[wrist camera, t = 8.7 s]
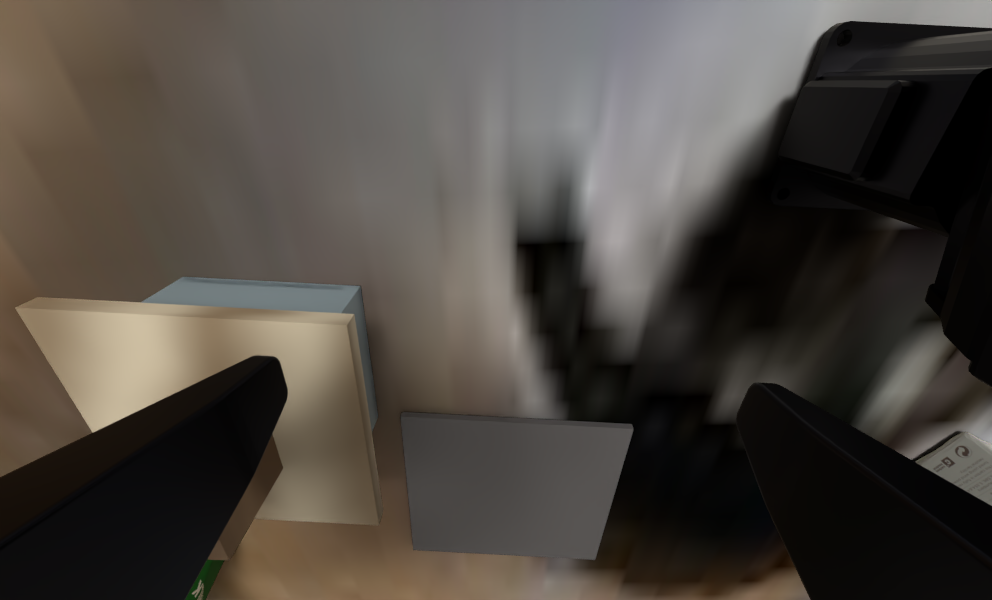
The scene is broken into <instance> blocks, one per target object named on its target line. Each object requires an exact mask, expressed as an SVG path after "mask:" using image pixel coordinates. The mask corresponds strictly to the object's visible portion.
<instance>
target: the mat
mask: <svg viewBox="0 0 992 600" xmlns="http://www.w3.org/2000/svg"><path fill="white" fill-rule="evenodd" d="M400 417H401V428H402V438H403V448H404V458H405V469H406V479H407V489H408V499H409V510H410V520H411V530H412V540H413V550H423V551H442V552H460V553H479V554H497V555H516V556H535V557H553V558H572V559H590V560H595V558H596V555H597V552H598V548H599V545H600V541H601V538H602V535H603V531H604V528H605V524H606V521H607V518H608V514H609V511H610V507H611V504H612V501H613V497H614V494H615V490H616V487H617V484H618V480H619V477H620V473H621V470H622V467H623V463H624V460H625V456H626V453H627V450H628V446H629V443H630V440H631V436H632V433H633V426H632V424H622V423H604V422H585V421H566V420H547V419H528V418H509V417H490V416H471V415H452V414H433V413H414V412H402V413H401V416H400Z"/></svg>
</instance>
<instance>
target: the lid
mask: <svg viewBox="0 0 992 600" xmlns="http://www.w3.org/2000/svg"><path fill="white" fill-rule="evenodd" d="M16 310H17V312H18V313H19V315H20V317H21V318H22V320H23V321H24V323H25V325H26V326H27V328H28V329H29V331H30V333H31V334H32V336H33V337H34V339H35V341H36V342H37V344H38V345H39V347H40V349H41V350H42V352H43V353H44V355H45V357H46V358H47V360H48V362H49V363H50V365H51V366H52V368H53V370H54V371H55V373H56V374H57V376H58V378H59V379H60V381H61V382H62V384H63V386H64V387H65V389H66V390H67V392H68V394H69V395H70V397H71V398H72V400H73V402H74V403H75V405H76V407H77V408H78V410H79V411H80V413H81V415H82V416H83V418H84V419H85V421H86V423H87V424H88V426H89V427H90V429H91V431H92V432H95V431H97V430H99V429H102V428H104V427H106V426H108V425H110V424H112V423H114V422H116V421H118V420H120V419H122V418H124V417H126V416H129V415H131V414H133V413H135V412H137V411H139V410H141V409H143V408H145V407H147V406H149V405H151V404H153V403H156V402H158V401H160V400H162V399H164V398H166V397H168V396H170V395H172V394H174V393H176V392H178V391H181V390H183V389H185V388H187V387H189V386H191V385H193V384H195V383H197V382H199V381H201V380H203V379H205V378H208V377H210V376H212V375H214V374H216V373H218V372H220V371H222V370H224V369H226V368H228V367H230V366H232V365H235V364H237V363H239V362H241V361H243V360H245V359H247V358H249V357H251V356H255V355H262V356H274V357H276V358H278V360H279V361H280V363H281V367H282V370H283V374H284V377H285V381H286V384H287V388H288V397H287V401H286V404H285V406H284V408H283V411H282V413H281V415H280V417H279V420H278V422H277V424H276V427H275V429H274V431H273V434H272V436H271V438H270V441H269V443H268V445H267V448H266V450H265V452H264V455H263V457H262V459H261V462H260V464H259V466H258V468H257V470H256V472H255V474H254V476H253V478H252V480H251V482H250V484H249V486H248V488H247V489H246V491H245V493H244V495H243V497H242V498H241V500H240V502H239V504H238V506H237V507H236V509H235V511H234V513H233V515H232V516H231V518H230V520H229V522H228V524H227V525H226V527H225V529H224V531H223V533H222V534H221V536H220V538H219V540H218V542H217V543H216V545H215V547H214V549H213V550H212V552H211V554H210V556H209V558H208V560H226V561H230V559H231V557H232V556H233V554H234V552H235V550H236V549H237V547H238V545H239V544H240V542H241V540H242V538H243V537H244V535H245V533H246V532H247V530H248V528H249V526H250V525H251V523H252V521H253V520H254V519H267V520H285V521H304V522H322V523H341V524H359V525H378V526H379V524H380V520H381V517H382V514H383V505H382V498H381V491H380V484H379V478H378V471H377V464H376V457H375V450H374V444H373V437H372V430H371V423H370V417H369V410H368V403H367V396H366V389H365V383H364V376H363V369H362V362H361V356H360V349H359V342H358V335H357V328H356V322H355V315H354V314H345V313H326V312H307V311H288V310H269V309H250V308H232V307H213V306H194V305H175V304H156V303H138V302H119V301H100V300H81V299H62V298H44V297H37V298H35V299H33V300H31V301H29V302H26V303H24V304H22V305H20V306H18V307H16Z"/></svg>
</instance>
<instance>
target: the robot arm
mask: <svg viewBox="0 0 992 600" xmlns="http://www.w3.org/2000/svg"><path fill="white" fill-rule="evenodd" d="M841 32H843V34H844V40H843V41H842V43H841V44H840V45H839V46H838V45H837V37H838V36H839V34H840V33H841ZM778 155H779V158H778V160H777V163H776V166H775V169H774V171H773V174H772V177H771V179H770V182H769V185H768V188H767V190H766V195H765V196H766V199H767V200H768V201H769V202H770V203H772V204H775V205H778V206H795V207H814V208H834V209H853V210H872V211H874V212H877V213H880V214H883V215H886V216H889V217H891V218H894V219H897V220H900V221H903V222H906V223H908V224H911V225H914V226H917V227H920V228H923V229H925V230H928V231H931V232H934V233H937V234H939V235H942V236H945V237H948V241H947V244H946V247H945V251H944V254H943V257H942V261H941V264H940V267H939V270H938V274H937V277H936V280H935V284H931V285H930V286H929V288H928V291H927V295H926V298H925V301H926V303H927V304H928V305H929V306H930V307H931V308H932V309H933V310H934V312H935V313H936V314H937V315H938V316H939V317H940V318H941V322H942V327H943V332H944V335H945V336H946V337H947V338H948V339H949V340H950V341H951V342H952V343H953V344H954V345H955V346H956V347H957V348H958V349H959V350H960V352H961V353H962V354H963V355H964V356H965V357H966V358H968V359H969V360H971V362H970V365H969V367H968V368H969V372H970V373H971V374H972V375H973V376H975V377H976V378H977V379H979V380H980V381H982V382H984V383H985V384H987V385H989V386H990V387H992V28H976V27H956V26H937V25H917V24H897V23H877V22H857V21H849V22H844V23H838V24H836V25H834V26H832V27H831V28H830V29H829V30H828V31H827V32H826V33H825V35H824V37H823V39H822V42H821V44H820V47H819V50H818V52H817V55H816V58H815V60H814V63H813V66H812V69H811V71H810V74H809V77H808V79H807V82H806V85H805V86H804V87H803V88H802V89H801V92H800V95H799V97H798V100H797V103H796V106H795V108H794V111H793V114H792V117H791V119H790V122H789V125H788V127H787V130H786V133H785V136H784V138H783V141H782V144H781V146H780V149H779V152H778ZM782 188H784V192H783V194H782V195H781V196H780V197H777V193H778V192H779V190H781V189H782ZM287 397H288V388H287V384H286V381H285V377H284V374H283V370H282V367H281V363H280V361H279V360H278V358H276V357H274V356H262V355H255V356H251V357H249V358H247V359H245V360H243V361H241V362H239V363H237V364H235V365H232V366H230V367H228V368H226V369H224V370H222V371H220V372H218V373H216V374H214V375H212V376H210V377H208V378H205V379H203V380H201V381H199V382H197V383H195V384H193V385H191V386H189V387H187V388H185V389H183V390H181V391H178V392H176V393H174V394H172V395H170V396H168V397H166V398H164V399H162V400H160V401H158V402H156V403H153V404H151V405H149V406H147V407H145V408H143V409H141V410H139V411H137V412H135V413H133V414H131V415H129V416H126V417H124V418H122V419H120V420H118V421H116V422H114V423H112V424H110V425H108V426H106V427H104V428H102V429H99V430H97V431H95V432H93V433H91V434H89V435H87V436H85V437H83V438H81V439H79V440H77V441H74V442H72V443H70V444H68V445H66V446H64V447H62V448H60V449H58V450H56V451H54V452H52V453H50V454H47V455H45V456H43V457H41V458H39V459H37V460H35V461H33V462H31V463H29V464H27V465H25V466H23V467H20V468H18V469H16V470H14V471H12V472H10V473H8V474H6V475H4V476H2V477H0V600H185V599H186V597H187V595H188V594H189V592H190V590H191V588H192V586H193V585H194V583H195V581H196V579H197V577H198V576H199V574H200V572H201V570H202V568H203V567H204V565H205V563H206V561H207V559H208V558H209V556H210V554H211V552H212V550H213V549H214V547H215V545H216V543H217V542H218V540H219V538H220V536H221V534H222V533H223V531H224V529H225V527H226V525H227V524H228V522H229V520H230V518H231V516H232V515H233V513H234V511H235V509H236V507H237V506H238V504H239V502H240V500H241V498H242V497H243V495H244V493H245V491H246V489H247V488H248V486H249V484H250V482H251V480H252V478H253V476H254V474H255V472H256V470H257V468H258V466H259V464H260V462H261V459H262V457H263V455H264V452H265V450H266V448H267V445H268V443H269V441H270V438H271V436H272V434H273V431H274V429H275V427H276V424H277V422H278V420H279V417H280V415H281V413H282V411H283V408H284V406H285V404H286V401H287ZM736 423H737V428H738V431H739V434H740V436H741V439H742V442H743V445H744V447H745V450H746V453H747V456H748V458H749V461H750V464H751V467H752V469H753V472H754V475H755V478H756V480H757V483H758V486H759V489H760V491H761V494H762V497H763V499H764V502H765V504H766V506H767V509H768V511H769V513H770V515H771V518H772V520H773V522H774V524H775V526H776V528H777V530H778V532H779V534H780V537H781V539H782V541H783V543H784V545H785V547H786V549H787V551H788V553H789V555H790V557H791V560H792V562H793V564H794V566H795V568H796V570H797V572H798V574H799V576H800V578H801V581H802V583H803V585H804V587H805V589H806V591H807V593H808V595H809V597H810V599H811V600H992V506H991V505H989V504H988V503H986V502H984V501H982V500H981V499H979V498H977V497H975V496H973V495H972V494H970V493H968V492H966V491H965V490H963V489H961V488H959V487H958V486H956V485H954V484H952V483H951V482H949V481H947V480H945V479H944V478H942V477H940V476H938V475H937V474H935V473H933V472H931V471H930V470H928V469H926V468H924V467H923V466H921V465H919V464H917V463H916V462H914V461H912V460H910V459H909V458H907V457H905V456H903V455H902V454H900V453H898V452H896V451H895V450H893V449H891V448H889V447H888V446H886V445H884V444H882V443H881V442H879V441H877V440H875V439H873V438H872V437H870V436H868V435H866V434H865V433H863V432H861V431H859V430H858V429H856V428H854V427H852V426H851V425H849V424H847V423H845V422H844V421H842V420H840V419H838V418H837V417H835V416H833V415H831V414H830V413H828V412H826V411H824V410H823V409H821V408H819V407H817V406H816V405H814V404H812V403H810V402H809V401H807V400H805V399H803V398H802V397H800V396H798V395H796V394H795V393H793V392H791V391H789V390H788V389H786V388H784V387H782V386H780V385H778V384H773V383H754V384H752V385H751V386H750V387H749V389H748V391H747V393H746V395H745V397H744V400H743V402H742V404H741V406H740V408H739V411H738V413H737V418H736Z"/></svg>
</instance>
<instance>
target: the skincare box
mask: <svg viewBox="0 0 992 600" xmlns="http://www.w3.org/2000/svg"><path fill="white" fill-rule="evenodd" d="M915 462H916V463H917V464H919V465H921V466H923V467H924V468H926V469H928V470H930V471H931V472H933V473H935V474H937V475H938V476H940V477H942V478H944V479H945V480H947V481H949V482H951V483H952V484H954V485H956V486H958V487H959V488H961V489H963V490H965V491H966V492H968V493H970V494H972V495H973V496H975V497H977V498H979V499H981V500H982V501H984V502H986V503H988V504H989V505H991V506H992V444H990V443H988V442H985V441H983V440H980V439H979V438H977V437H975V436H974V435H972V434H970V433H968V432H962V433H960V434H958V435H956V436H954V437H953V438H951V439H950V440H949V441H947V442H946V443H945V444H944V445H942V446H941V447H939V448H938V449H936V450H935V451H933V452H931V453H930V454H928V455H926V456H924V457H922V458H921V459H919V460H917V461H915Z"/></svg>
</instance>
